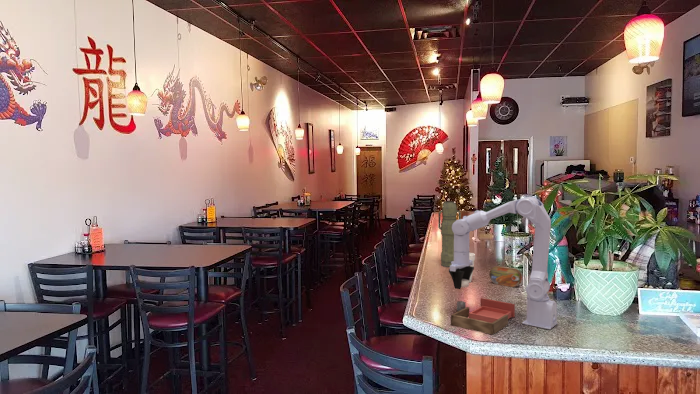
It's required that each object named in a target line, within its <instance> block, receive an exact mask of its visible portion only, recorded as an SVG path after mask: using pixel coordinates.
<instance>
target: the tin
mask: <svg viewBox="0 0 700 394" xmlns="http://www.w3.org/2000/svg"><path fill="white" fill-rule="evenodd" d="M488 275H489V278H490V280H491V282H492V283H493V284H494V285H497V286H498V285H499V286H505V287H509V288H510V287H511V288H514V287H517V286H519V285H520V284H521V283H522V281H523V276H522V273H521V271H520V270H519V269H517V268H514V267H507V266H500V265H499V266H495V265H494V266H493V267H491V269H490V270H489V274H488Z"/></svg>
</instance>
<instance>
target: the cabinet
mask: <svg viewBox="0 0 700 394" xmlns="http://www.w3.org/2000/svg"><path fill="white" fill-rule="evenodd" d="M469 313H470V307H469V306H466V308H464V309H462V310H460V311H458V312H457V311H456V312H454V313H452V314H451V315H450V326H453V327H457V328H463V329H467V330H471V331H476V332H480V333H484V334H487V335H488V334H489V335H494V334H496V333H498V332H499V331H502V329H504V328H506V327H507V326H509V319H508V315H504V316H502V317H501V318H499V319H498V320H496V321H494V322H493V323H490V322H485V321H481V320H476V319H472V318H469Z"/></svg>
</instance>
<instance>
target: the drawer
mask: <svg viewBox="0 0 700 394" xmlns="http://www.w3.org/2000/svg"><path fill="white" fill-rule="evenodd" d="M515 312H516V304H515V303H511V302H505V301H500V300H494V299H489V298H484V297H481V298H480V306H479V307H477V308H476V309H474V310H472V311H469V317H468V318H472V319H476V320H481V321H485V322H490V323H493V322H494V321H496V320H498V319H499V318H501V317H502V316H504V315H508V320H509V319H510V318H516V315H515V314H516V313H515Z"/></svg>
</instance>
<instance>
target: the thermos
mask: <svg viewBox="0 0 700 394" xmlns="http://www.w3.org/2000/svg"><path fill="white" fill-rule="evenodd" d="M441 213H442V218H441ZM457 213H458V215H457ZM461 214H462V213H461V211H460V210H458V209H457V204H456V202H455V201H444V202H443V204H442V209H441V210H439V212H438V215H437V217H438V218H437V219H438V220H437V221H438V225H437V226H438V229H439V230H440V234H441V253H440V265H441V267H444V268H450V265H452V264H451V262H452V261H454V232H453V231H452V224H453V223H454V222H455V221H456V220H460V219H462V218H461V217H462V215H461ZM457 216H458V219H457ZM441 219H442V220H441Z"/></svg>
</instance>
